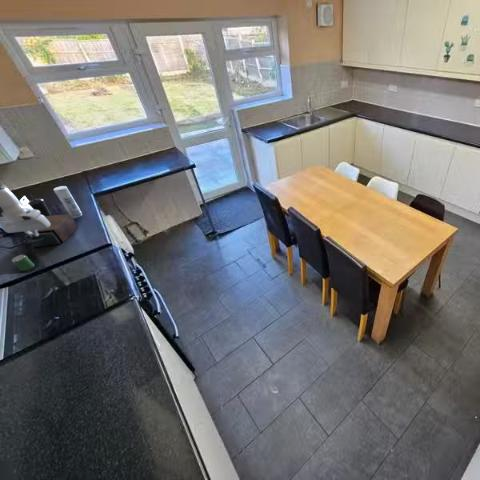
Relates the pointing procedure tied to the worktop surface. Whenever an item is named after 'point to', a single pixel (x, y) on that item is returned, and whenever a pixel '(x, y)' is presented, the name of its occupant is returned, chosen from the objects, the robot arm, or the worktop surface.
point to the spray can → (68, 201)
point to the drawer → (43, 239)
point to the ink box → (25, 203)
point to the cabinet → (60, 226)
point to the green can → (23, 263)
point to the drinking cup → (39, 206)
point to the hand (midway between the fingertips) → (35, 236)
